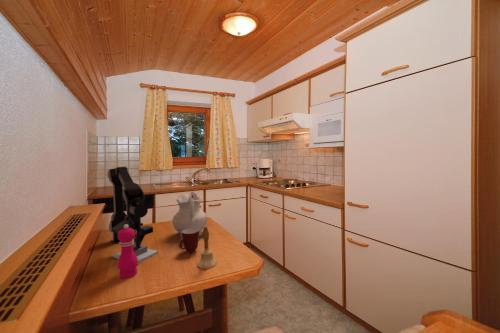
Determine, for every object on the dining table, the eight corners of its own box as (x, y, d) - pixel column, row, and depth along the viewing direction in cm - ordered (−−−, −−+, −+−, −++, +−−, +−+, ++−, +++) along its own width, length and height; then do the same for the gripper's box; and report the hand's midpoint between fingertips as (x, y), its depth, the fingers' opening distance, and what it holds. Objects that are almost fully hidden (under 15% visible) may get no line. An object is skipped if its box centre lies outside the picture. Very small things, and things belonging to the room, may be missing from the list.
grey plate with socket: (112, 257, 109) (112, 249, 109) (135, 247, 119) (135, 240, 119) (135, 264, 102) (135, 256, 101) (158, 253, 112) (157, 246, 112)
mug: (188, 258, 106) (187, 236, 105) (174, 255, 110) (174, 234, 109) (203, 249, 115) (202, 229, 115) (190, 246, 119) (189, 227, 119)
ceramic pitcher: (214, 239, 132) (215, 194, 132) (179, 244, 121) (181, 196, 121) (199, 229, 150) (200, 190, 149) (167, 233, 139) (169, 191, 138)
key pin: (130, 253, 110) (129, 236, 110) (136, 251, 113) (135, 234, 113) (134, 254, 108) (133, 237, 108) (140, 252, 111) (140, 235, 111)
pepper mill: (123, 270, 96) (120, 222, 95) (141, 269, 97) (139, 221, 96) (114, 279, 89) (111, 227, 88) (134, 278, 90) (131, 226, 88)
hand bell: (207, 270, 95) (206, 231, 94) (193, 265, 99) (191, 228, 98) (220, 262, 102) (219, 225, 101) (206, 258, 106) (205, 223, 105)
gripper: (103, 215, 106) (105, 249, 107) (131, 220, 98) (133, 257, 99) (126, 210, 116) (128, 241, 117) (153, 213, 108) (154, 247, 109)
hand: (135, 246), depth 110 cm, fingers open, 4 cm apart
